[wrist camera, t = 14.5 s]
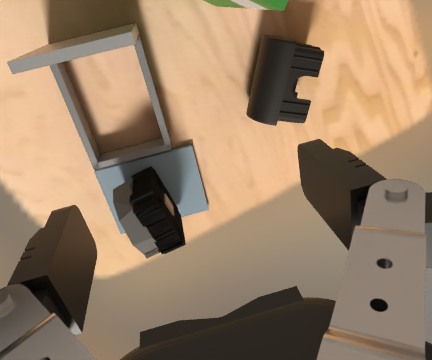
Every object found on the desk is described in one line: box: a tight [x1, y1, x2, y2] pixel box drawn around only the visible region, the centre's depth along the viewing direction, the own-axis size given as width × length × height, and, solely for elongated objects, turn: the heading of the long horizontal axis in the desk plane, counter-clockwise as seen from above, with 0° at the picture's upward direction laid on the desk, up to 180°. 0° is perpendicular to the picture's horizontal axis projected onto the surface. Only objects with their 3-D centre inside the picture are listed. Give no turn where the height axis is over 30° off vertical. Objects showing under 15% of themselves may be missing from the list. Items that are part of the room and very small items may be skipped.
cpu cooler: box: [113, 166, 186, 259], centre depth 47 cm, size 10×6×10 cm, turn 24°
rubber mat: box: [95, 144, 209, 234], centre depth 52 cm, size 14×11×1 cm
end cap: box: [246, 35, 324, 126], centre depth 45 cm, size 10×7×7 cm
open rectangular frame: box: [7, 23, 172, 170], centre depth 39 cm, size 11×16×14 cm
